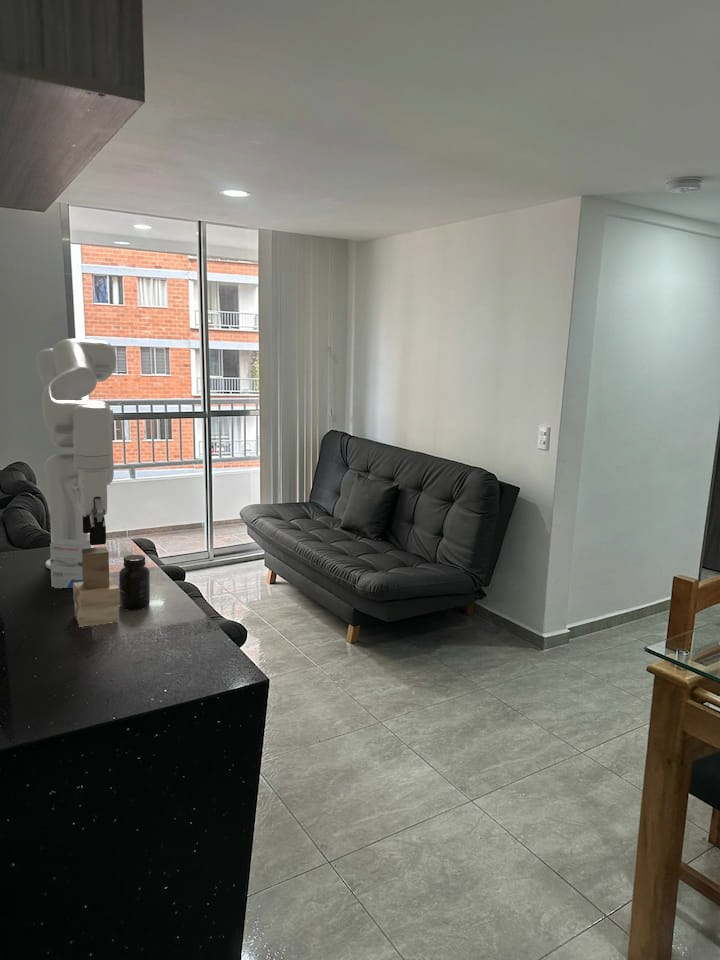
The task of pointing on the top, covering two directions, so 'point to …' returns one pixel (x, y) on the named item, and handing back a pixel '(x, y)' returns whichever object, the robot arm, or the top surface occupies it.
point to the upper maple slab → (96, 596)
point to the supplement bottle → (134, 583)
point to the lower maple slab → (96, 616)
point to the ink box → (66, 562)
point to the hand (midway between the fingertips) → (94, 538)
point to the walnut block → (95, 567)
